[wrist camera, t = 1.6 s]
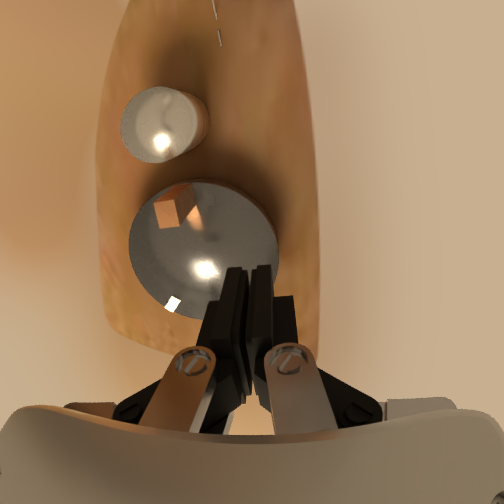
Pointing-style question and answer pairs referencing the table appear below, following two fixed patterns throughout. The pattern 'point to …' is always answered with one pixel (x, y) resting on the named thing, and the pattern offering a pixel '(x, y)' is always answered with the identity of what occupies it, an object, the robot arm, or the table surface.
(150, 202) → the turntable
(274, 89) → the table surface
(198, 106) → the cover
